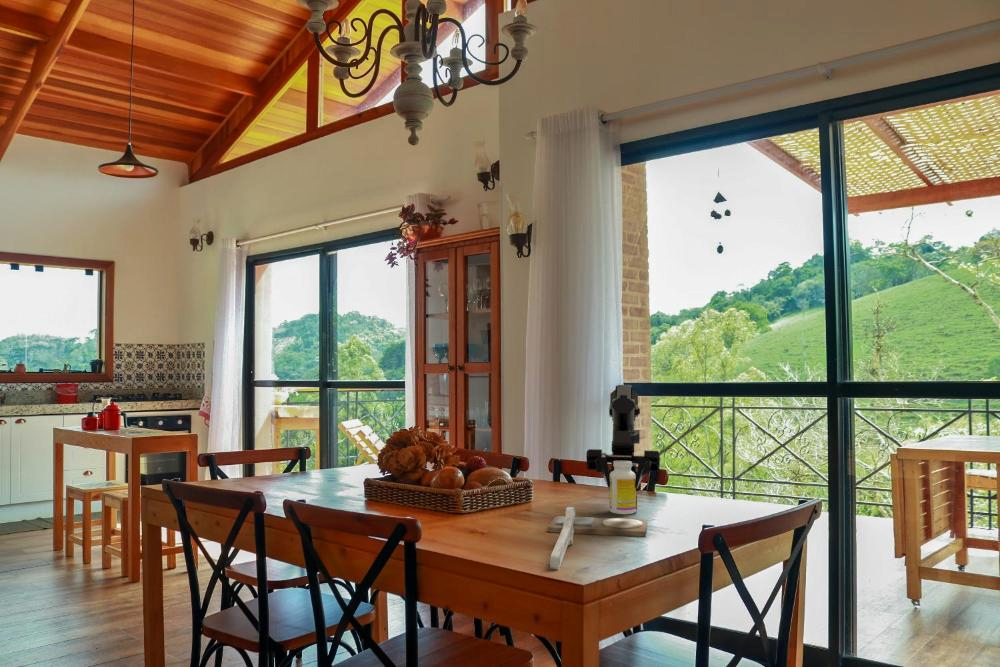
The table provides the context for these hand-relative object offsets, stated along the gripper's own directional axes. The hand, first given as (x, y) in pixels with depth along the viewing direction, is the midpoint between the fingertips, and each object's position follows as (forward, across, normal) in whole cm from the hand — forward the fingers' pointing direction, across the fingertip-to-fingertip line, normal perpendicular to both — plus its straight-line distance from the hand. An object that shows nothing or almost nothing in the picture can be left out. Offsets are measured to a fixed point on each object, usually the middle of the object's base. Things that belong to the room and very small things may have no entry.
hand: (622, 486), depth 210 cm
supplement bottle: (+4, 0, +6) cm, 7 cm away
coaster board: (+7, -6, +9) cm, 12 cm away
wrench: (+28, -12, -12) cm, 33 cm away
